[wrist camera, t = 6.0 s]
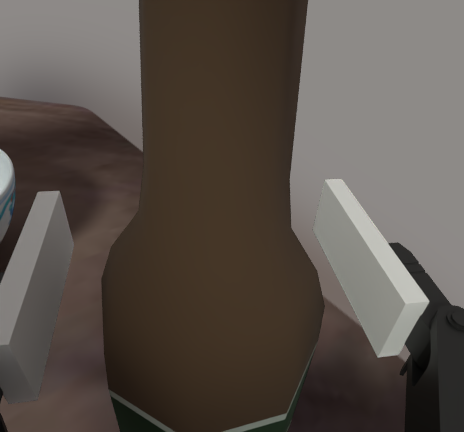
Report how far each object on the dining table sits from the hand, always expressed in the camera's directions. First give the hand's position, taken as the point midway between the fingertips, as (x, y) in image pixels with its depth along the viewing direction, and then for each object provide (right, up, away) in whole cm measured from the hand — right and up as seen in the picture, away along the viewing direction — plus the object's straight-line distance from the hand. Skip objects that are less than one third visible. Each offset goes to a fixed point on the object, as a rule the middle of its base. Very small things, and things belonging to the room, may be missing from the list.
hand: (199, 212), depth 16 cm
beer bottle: (0, -13, +5) cm, 14 cm away
